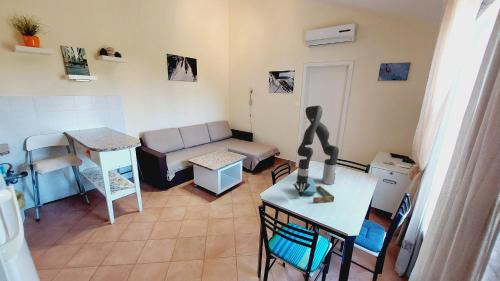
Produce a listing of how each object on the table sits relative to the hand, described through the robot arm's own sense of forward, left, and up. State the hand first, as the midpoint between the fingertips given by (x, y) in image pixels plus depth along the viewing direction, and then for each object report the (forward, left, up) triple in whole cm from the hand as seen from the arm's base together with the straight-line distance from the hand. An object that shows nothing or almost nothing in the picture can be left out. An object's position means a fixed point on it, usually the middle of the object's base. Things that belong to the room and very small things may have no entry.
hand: (300, 195), depth 148 cm
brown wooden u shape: (-14, 0, -2) cm, 14 cm away
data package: (-7, -2, +1) cm, 7 cm away
